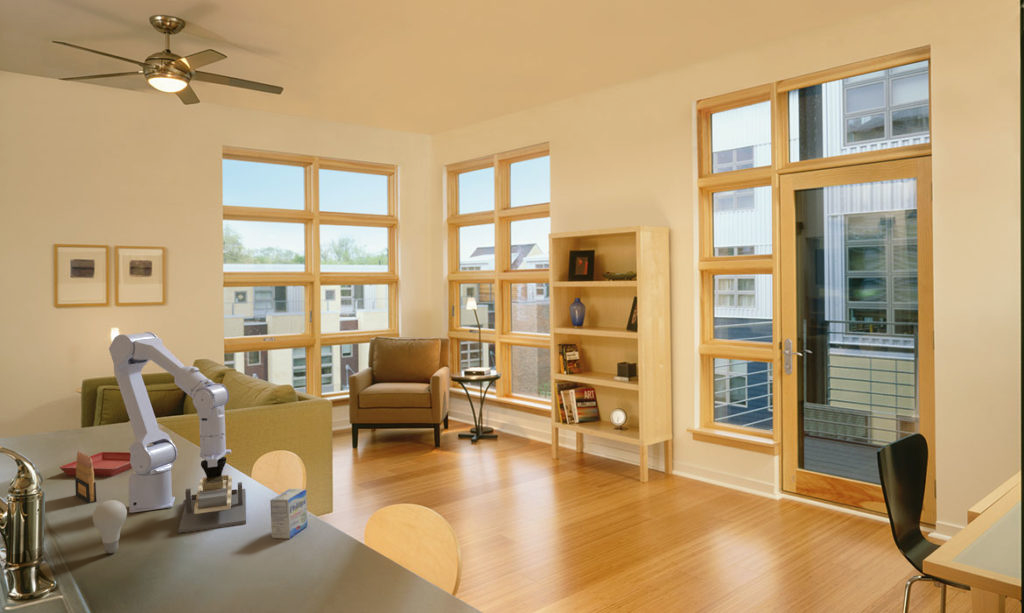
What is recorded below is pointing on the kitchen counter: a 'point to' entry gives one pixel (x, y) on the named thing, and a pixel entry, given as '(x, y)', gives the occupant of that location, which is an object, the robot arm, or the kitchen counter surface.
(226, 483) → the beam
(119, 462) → the red tray
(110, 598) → the kitchen counter surface
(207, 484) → the block
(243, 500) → the stand
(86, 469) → the ammunition clip
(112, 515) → the lightbulb
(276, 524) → the medicine box
